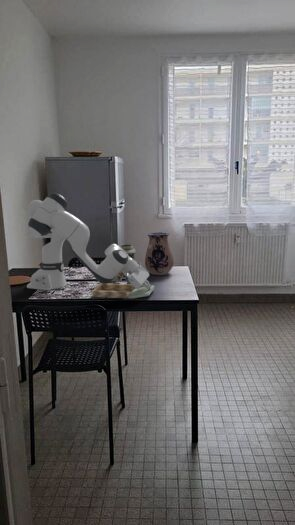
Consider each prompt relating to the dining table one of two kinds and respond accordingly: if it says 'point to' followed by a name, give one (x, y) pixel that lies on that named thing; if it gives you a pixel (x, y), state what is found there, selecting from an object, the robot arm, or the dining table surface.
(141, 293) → the pale green flat slab
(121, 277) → the coffee box
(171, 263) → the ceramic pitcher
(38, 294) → the dining table surface
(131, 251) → the apothecary jar
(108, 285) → the truck bed crate
